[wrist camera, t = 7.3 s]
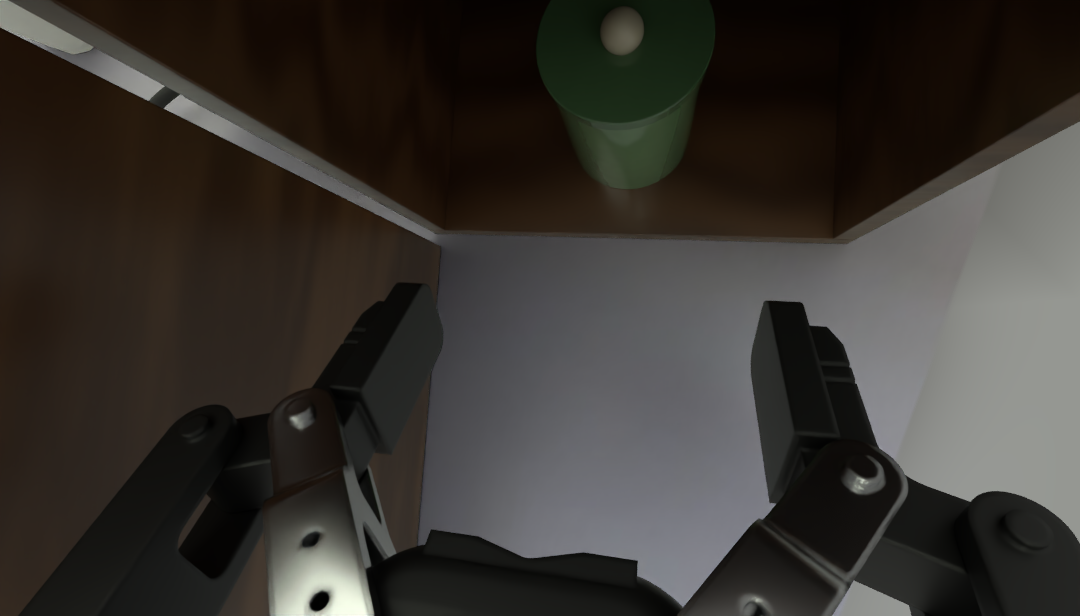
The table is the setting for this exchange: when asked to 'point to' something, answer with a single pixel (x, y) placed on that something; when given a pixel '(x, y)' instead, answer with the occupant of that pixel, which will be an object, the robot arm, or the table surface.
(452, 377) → the table surface
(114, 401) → the cupboard door
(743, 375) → the table surface
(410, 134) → the cupboard
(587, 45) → the pot
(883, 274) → the table surface
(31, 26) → the foam cup
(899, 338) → the table surface
